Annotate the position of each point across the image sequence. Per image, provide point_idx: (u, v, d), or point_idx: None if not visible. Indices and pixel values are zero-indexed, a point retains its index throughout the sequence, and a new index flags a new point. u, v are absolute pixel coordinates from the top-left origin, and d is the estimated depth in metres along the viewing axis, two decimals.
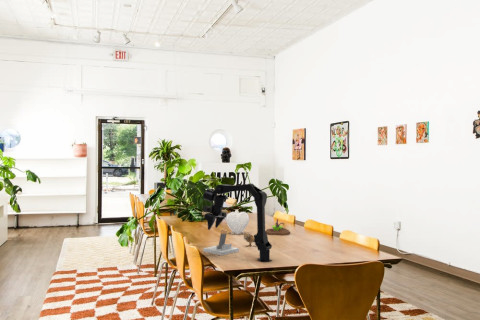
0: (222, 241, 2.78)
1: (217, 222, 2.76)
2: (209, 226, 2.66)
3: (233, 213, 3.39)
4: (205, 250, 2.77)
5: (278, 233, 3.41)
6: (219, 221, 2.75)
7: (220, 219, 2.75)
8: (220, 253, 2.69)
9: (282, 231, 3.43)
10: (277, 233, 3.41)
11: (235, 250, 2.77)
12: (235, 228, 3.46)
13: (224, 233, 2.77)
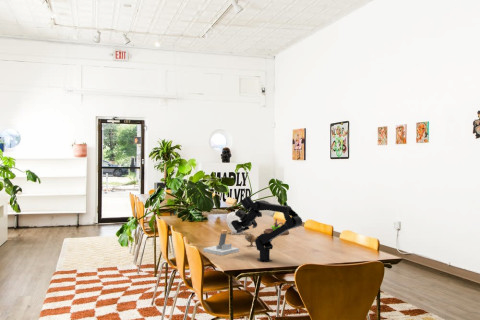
0: (222, 241, 2.78)
1: None
2: (238, 231, 2.69)
3: (233, 213, 3.39)
4: (205, 250, 2.77)
5: None
6: (242, 230, 2.69)
7: None
8: (220, 253, 2.69)
9: None
10: None
11: (235, 250, 2.77)
12: None
13: (224, 233, 2.77)
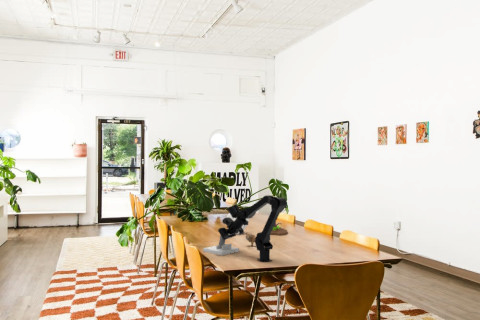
0: (222, 241, 2.78)
1: None
2: (225, 237, 2.76)
3: None
4: (205, 250, 2.77)
5: (275, 233, 3.41)
6: None
7: None
8: (220, 253, 2.69)
9: (279, 231, 3.43)
10: (274, 233, 3.41)
11: (235, 250, 2.77)
12: None
13: None
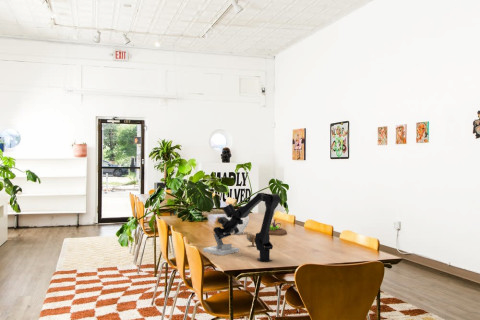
0: (219, 240, 2.79)
1: None
2: (220, 237, 2.78)
3: None
4: (205, 250, 2.77)
5: (273, 233, 3.40)
6: None
7: None
8: (220, 253, 2.69)
9: (278, 231, 3.42)
10: (272, 233, 3.40)
11: (235, 250, 2.77)
12: None
13: None
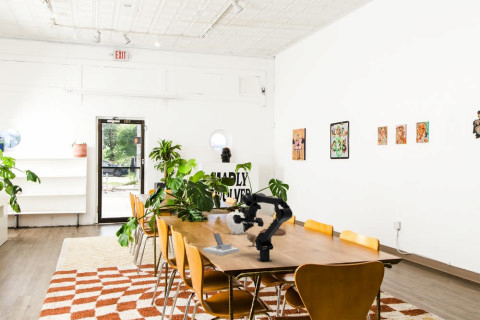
0: (219, 240, 2.79)
1: None
2: (243, 228, 2.72)
3: (233, 213, 3.39)
4: (205, 250, 2.77)
5: None
6: (247, 227, 2.71)
7: (248, 225, 2.70)
8: (220, 253, 2.69)
9: (276, 231, 3.41)
10: None
11: (235, 250, 2.77)
12: (235, 228, 3.46)
13: (216, 233, 2.81)
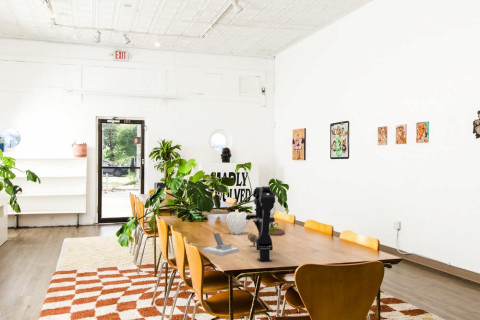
0: (219, 240, 2.79)
1: None
2: None
3: (233, 213, 3.39)
4: (205, 250, 2.77)
5: (270, 233, 3.39)
6: None
7: None
8: (220, 253, 2.69)
9: (275, 231, 3.41)
10: (269, 233, 3.40)
11: (235, 250, 2.77)
12: (235, 228, 3.46)
13: (216, 233, 2.81)
